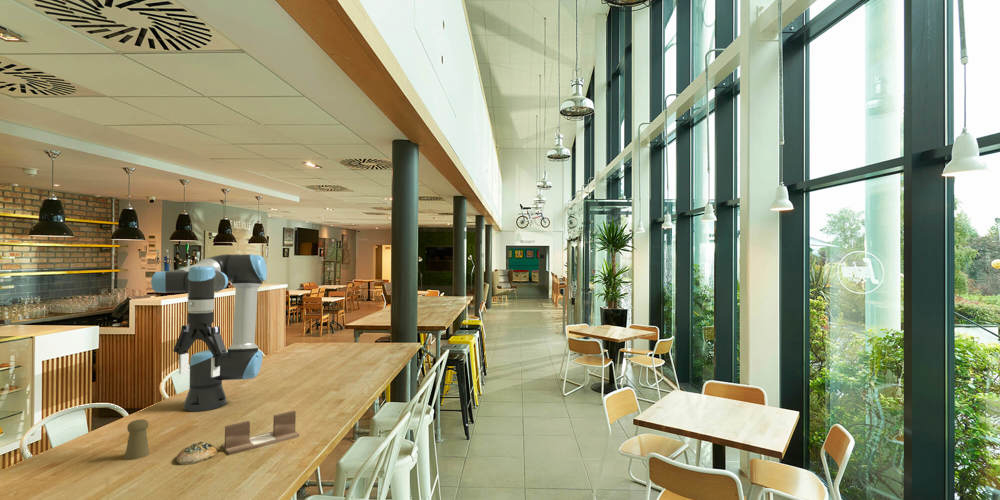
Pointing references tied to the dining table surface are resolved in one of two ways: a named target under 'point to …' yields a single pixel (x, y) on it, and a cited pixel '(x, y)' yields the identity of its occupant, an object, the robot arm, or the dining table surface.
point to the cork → (137, 440)
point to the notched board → (241, 440)
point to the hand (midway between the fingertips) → (199, 374)
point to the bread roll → (196, 453)
